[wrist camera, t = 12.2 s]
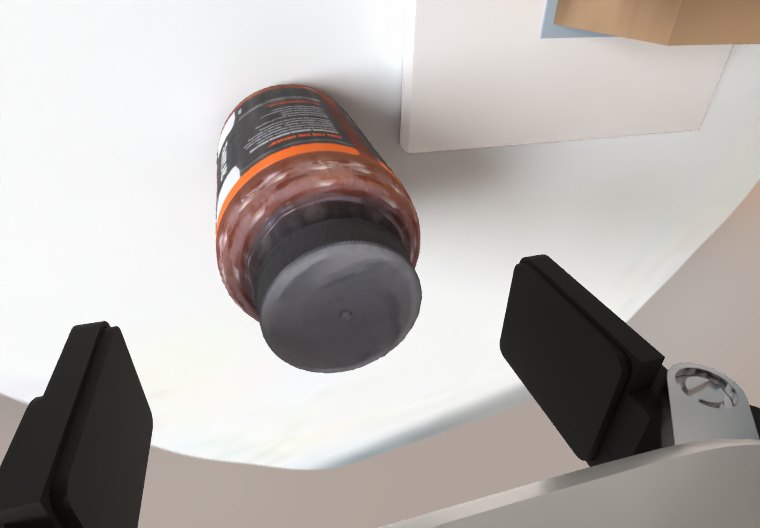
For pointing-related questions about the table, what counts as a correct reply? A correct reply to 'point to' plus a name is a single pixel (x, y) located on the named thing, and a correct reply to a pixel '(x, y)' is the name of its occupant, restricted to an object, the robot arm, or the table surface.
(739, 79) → the table surface
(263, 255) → the supplement bottle
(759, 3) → the walnut cube
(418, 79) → the plate
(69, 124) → the table surface
